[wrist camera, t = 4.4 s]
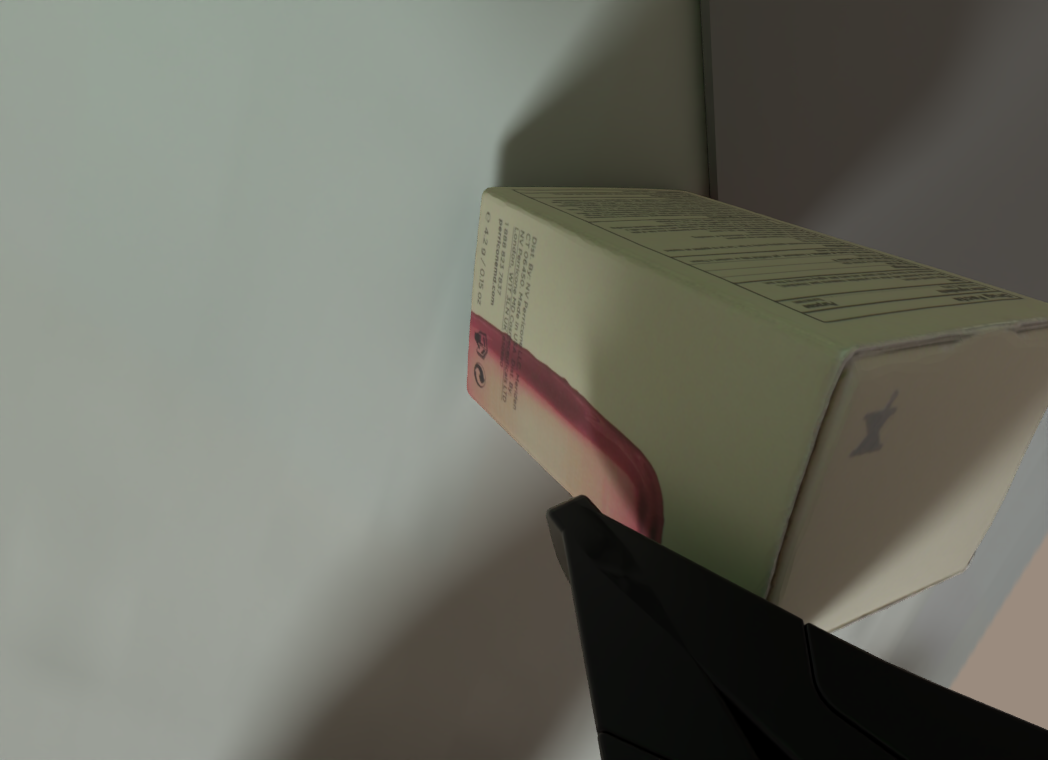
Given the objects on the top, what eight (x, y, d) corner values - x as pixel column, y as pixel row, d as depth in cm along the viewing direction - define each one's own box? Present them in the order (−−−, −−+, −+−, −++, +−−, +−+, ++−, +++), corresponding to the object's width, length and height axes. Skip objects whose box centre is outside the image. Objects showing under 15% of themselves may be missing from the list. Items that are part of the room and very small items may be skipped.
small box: (458, 395, 14) (736, 690, 8) (477, 179, 12) (853, 352, 6) (651, 368, 17) (976, 581, 11) (690, 185, 15) (1108, 314, 9)
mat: (1068, 291, 21) (1078, 295, 21) (722, 436, 19) (728, 442, 18) (1204, -222, 14) (1221, -226, 14) (695, -93, 12) (705, -95, 12)
